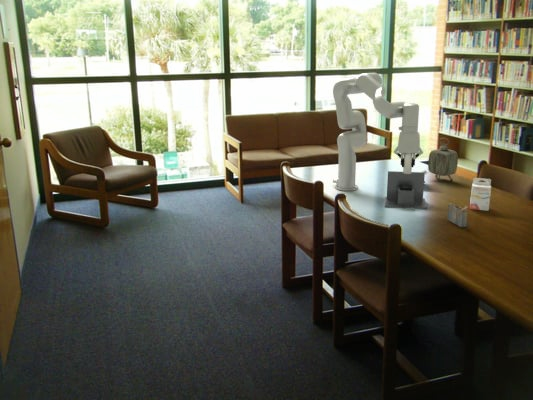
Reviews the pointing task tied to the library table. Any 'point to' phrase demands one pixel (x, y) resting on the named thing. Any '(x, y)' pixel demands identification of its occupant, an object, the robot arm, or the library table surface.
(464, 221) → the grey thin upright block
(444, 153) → the tabletop clock
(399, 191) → the cup bracket
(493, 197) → the library table surface
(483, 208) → the ink cartridge box
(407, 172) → the off-white rounded cylinder
